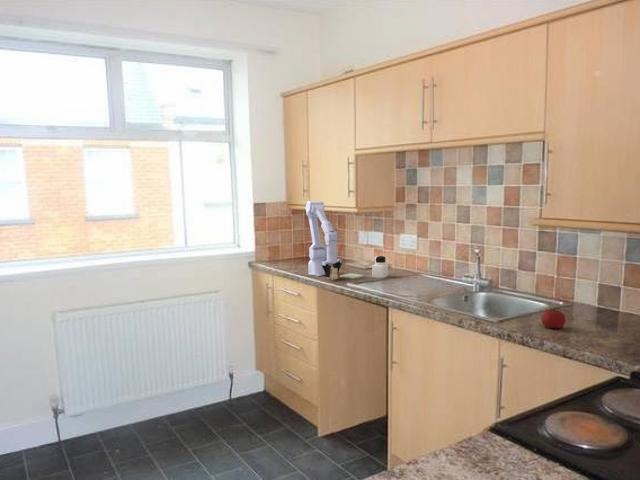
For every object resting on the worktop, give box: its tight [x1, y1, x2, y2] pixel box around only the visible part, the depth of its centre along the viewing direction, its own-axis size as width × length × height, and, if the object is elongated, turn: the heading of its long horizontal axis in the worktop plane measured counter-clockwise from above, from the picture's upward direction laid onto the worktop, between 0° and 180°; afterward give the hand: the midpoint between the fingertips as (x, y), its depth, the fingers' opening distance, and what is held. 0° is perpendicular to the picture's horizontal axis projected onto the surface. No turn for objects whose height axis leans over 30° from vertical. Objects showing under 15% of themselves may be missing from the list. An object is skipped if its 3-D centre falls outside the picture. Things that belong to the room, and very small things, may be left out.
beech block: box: [325, 267, 339, 281], centre depth 286 cm, size 4×4×6 cm
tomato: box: [540, 308, 566, 330], centre depth 185 cm, size 8×8×7 cm
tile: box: [339, 273, 365, 280], centre depth 292 cm, size 10×10×1 cm
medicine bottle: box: [371, 255, 389, 279], centre depth 290 cm, size 7×7×12 cm
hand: (331, 276), depth 286 cm, fingers open, 7 cm apart
